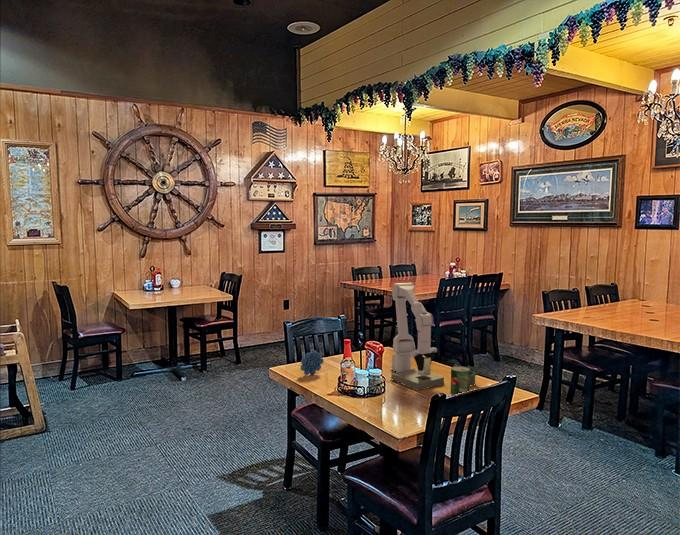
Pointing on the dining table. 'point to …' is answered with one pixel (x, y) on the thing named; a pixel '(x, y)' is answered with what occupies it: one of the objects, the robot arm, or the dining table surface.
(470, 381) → the bracket
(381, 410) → the dining table surface
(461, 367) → the canned tomato
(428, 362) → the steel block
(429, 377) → the well board
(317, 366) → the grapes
